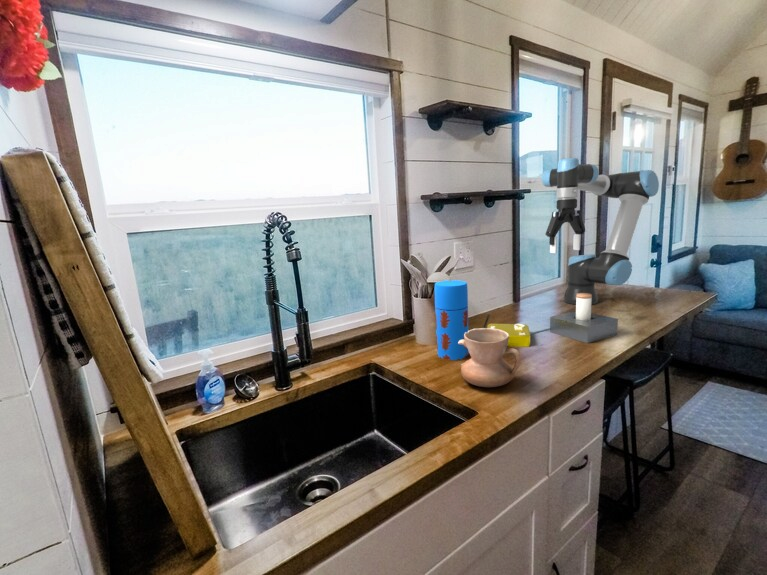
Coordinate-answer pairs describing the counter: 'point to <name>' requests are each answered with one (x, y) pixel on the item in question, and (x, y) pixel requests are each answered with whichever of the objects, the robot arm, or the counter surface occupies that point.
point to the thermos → (451, 318)
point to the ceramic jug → (488, 358)
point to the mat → (535, 327)
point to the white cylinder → (583, 306)
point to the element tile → (515, 334)
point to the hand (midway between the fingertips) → (565, 251)
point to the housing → (583, 327)
